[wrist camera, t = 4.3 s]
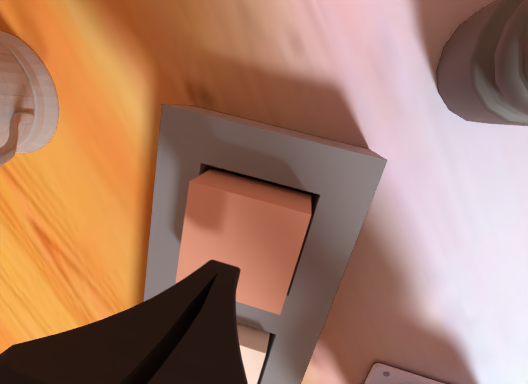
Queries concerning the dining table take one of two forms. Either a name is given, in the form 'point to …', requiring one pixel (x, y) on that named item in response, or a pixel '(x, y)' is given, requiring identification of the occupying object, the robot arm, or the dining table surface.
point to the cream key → (252, 350)
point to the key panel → (278, 171)
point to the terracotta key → (245, 234)
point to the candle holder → (488, 66)
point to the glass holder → (24, 99)
